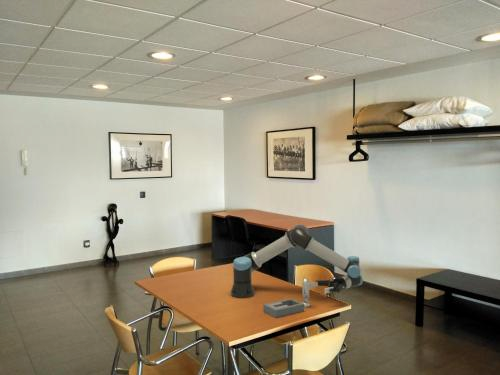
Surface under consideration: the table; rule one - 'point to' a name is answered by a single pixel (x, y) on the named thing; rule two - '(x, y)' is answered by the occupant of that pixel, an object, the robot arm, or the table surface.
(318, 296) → the table surface
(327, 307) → the table surface
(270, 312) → the keyhole plate
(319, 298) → the table surface
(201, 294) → the table surface
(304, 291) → the steel peg
